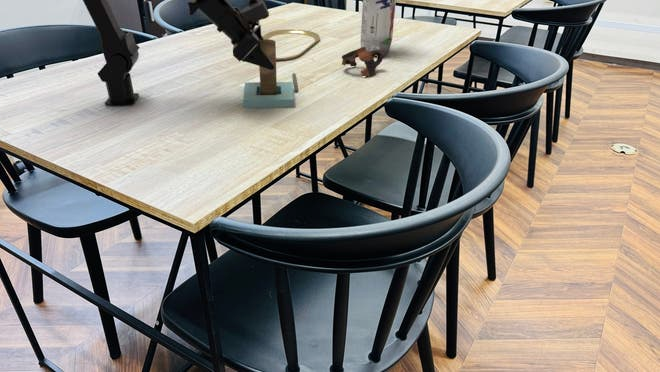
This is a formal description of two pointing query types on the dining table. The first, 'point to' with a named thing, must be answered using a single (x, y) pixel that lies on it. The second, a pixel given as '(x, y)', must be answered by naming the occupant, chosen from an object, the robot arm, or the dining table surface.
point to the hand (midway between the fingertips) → (273, 62)
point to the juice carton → (377, 25)
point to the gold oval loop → (292, 31)
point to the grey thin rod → (295, 82)
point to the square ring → (268, 96)
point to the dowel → (266, 75)
